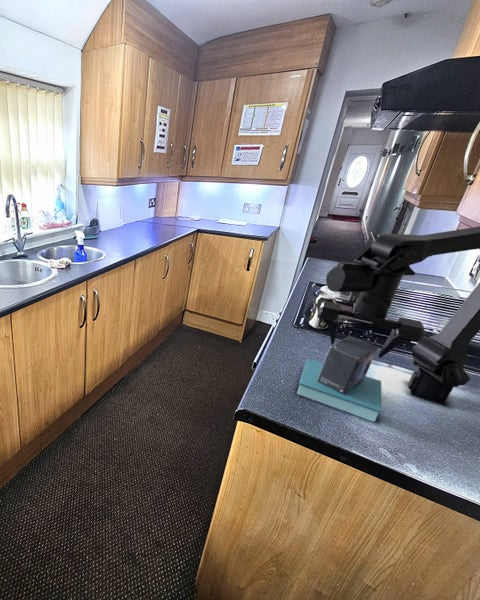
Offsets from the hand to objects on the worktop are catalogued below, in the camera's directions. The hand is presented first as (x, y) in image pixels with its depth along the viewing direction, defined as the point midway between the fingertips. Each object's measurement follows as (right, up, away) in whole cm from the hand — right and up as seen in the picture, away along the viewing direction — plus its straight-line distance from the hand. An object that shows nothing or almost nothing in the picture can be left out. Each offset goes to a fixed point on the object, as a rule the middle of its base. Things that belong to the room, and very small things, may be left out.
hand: (355, 350), depth 80 cm
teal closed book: (-2, -12, +4) cm, 12 cm away
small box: (-2, -9, +3) cm, 9 cm away
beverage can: (+18, +3, +37) cm, 41 cm away
